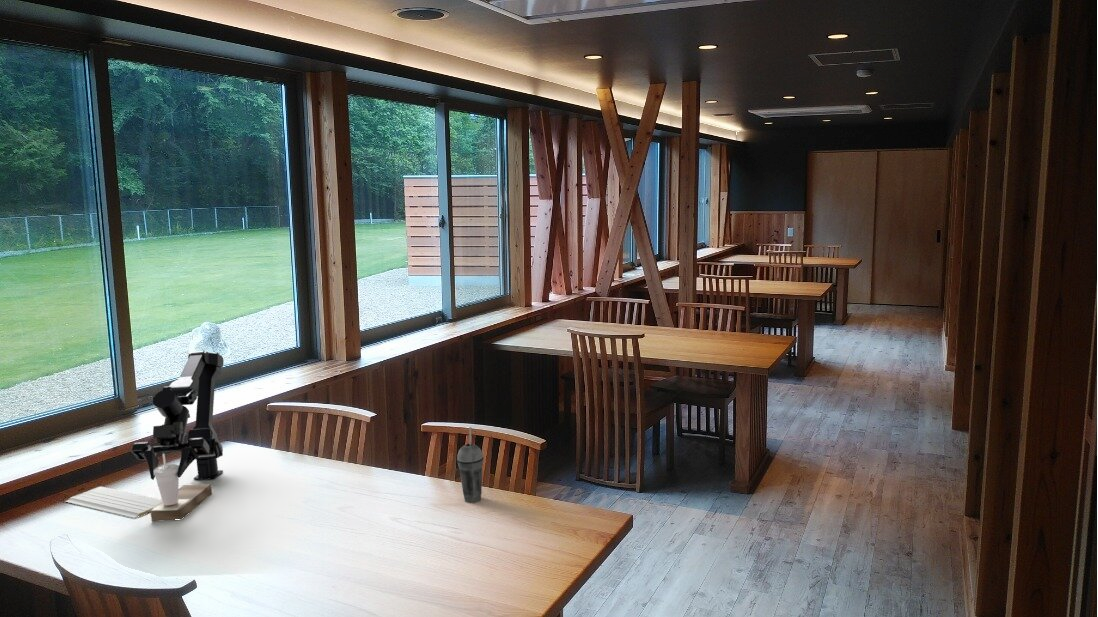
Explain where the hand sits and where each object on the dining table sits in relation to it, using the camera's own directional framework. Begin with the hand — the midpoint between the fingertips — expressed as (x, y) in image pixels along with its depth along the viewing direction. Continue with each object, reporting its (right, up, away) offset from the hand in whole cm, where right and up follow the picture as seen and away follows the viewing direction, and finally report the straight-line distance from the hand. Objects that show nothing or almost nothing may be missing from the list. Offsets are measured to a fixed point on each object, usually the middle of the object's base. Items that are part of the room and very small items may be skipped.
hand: (165, 478), depth 206 cm
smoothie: (0, -7, +3) cm, 8 cm away
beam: (+1, -10, +9) cm, 13 cm away
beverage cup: (+81, -7, +4) cm, 82 cm away
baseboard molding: (-21, -11, +13) cm, 27 cm away
